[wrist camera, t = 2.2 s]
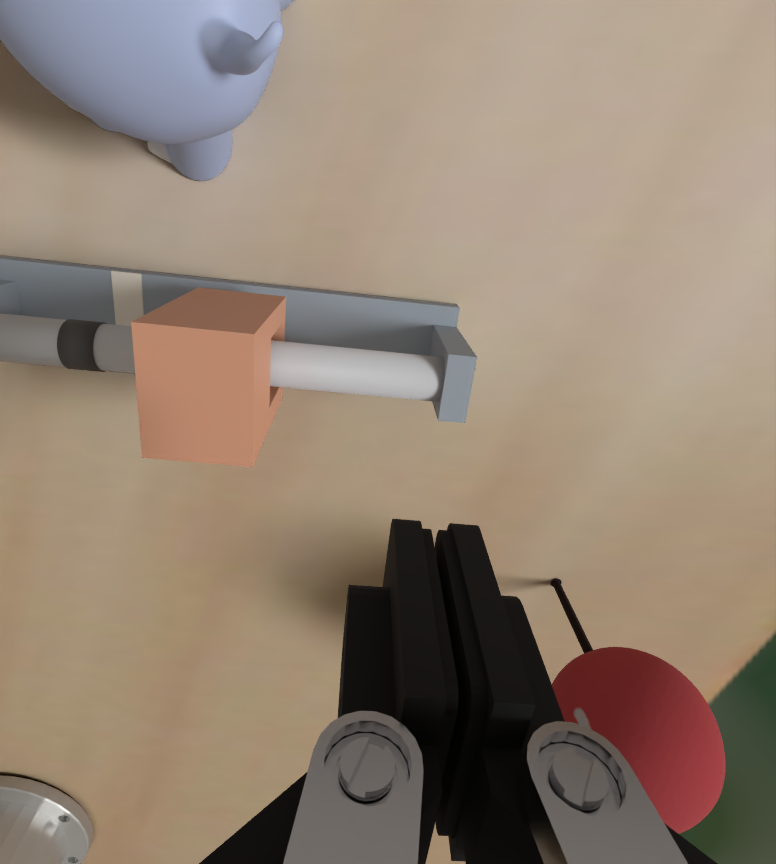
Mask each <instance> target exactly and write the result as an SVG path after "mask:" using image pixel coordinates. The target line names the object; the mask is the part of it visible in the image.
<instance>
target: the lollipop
mask: <svg viewBox="0 0 776 864" xmlns="http://www.w3.org/2000/svg"><path fill="white" fill-rule="evenodd" d="M551 585H552V586H553V587H554V588H555V590H556V593H557V595H558V597H559V599H560V602H561V604H562V606H563V608H564V610H565V613H566V615H567V617H568V619H569V621H570V624H571V626H572V628H573V630H574V632H575V634H576V637H577V639H578V641H579V643H580V645H581V647H582V650H583V652H584V654H582V655H580V656H578V657H577V658H575V659H574V660H572V661H571V662H570V663H568V664H567V665H566V666H565V667H564V668H563V669H562V670H561V671H560V672H559V674H558V675H557V677H556V678H555V680H554V682H553V683H552V687H553V690H554V693H555V696H556V698H557V701H558V704H559V707H560V709H561V712H562V715H563V718H564V720H565V722H573V723H576V724H579V725H582V726H585V727H588V728H590V729H591V730H593V731H595V732H597V733H598V734H600V735H602V736H603V737H605V738H606V739H607V740H608V741H609V742H610V743H611V744H612V745H614V746H615V747H616V748H617V749H618V750H619V751H620V753H621V754H622V755H623V757H624V758H625V759H626V761H627V762H628V763H629V765H630V766H631V768H632V770H633V771H634V773H635V775H636V777H637V778H638V780H639V782H640V783H641V785H642V787H643V788H644V790H645V792H646V793H647V795H648V797H649V798H650V800H651V802H652V804H653V805H654V807H655V809H656V810H657V812H658V814H659V815H660V817H661V819H662V820H663V822H664V823H665V824H666V825H667V826H669V827H670V828H671V829H673V830H674V831H675V832H677V833H678V834H679V833H682V832H684V831H686V830H688V829H690V828H692V827H693V826H695V825H696V824H698V823H699V822H700V821H701V820H703V819H704V817H706V816H707V815H708V813H709V812H710V811H711V810H712V808H713V807H714V806H715V804H716V802H717V800H718V798H719V796H720V793H721V791H722V787H723V783H724V776H725V754H724V747H723V742H722V738H721V734H720V731H719V727H718V725H717V722H716V720H715V717H714V715H713V713H712V711H711V709H710V708H709V705H708V704H707V702H706V701H705V699H704V697H703V696H702V695H701V693H700V692H699V691H698V689H697V688H696V687H695V686H694V685H693V684H692V682H691V681H690V680H689V679H688V678H687V677H686V676H684V675H683V674H682V673H681V672H680V671H678V670H677V669H676V668H675V667H673V666H672V665H670V664H669V663H667V662H666V661H664V660H662V659H660V658H658V657H656V656H654V655H651V654H649V653H646V652H643V651H639V650H636V649H631V648H623V647H607V648H601V649H596V650H593V649H592V647H591V645H590V643H589V641H588V639H587V637H586V635H585V633H584V631H583V629H582V627H581V625H580V623H579V621H578V618H577V616H576V614H575V612H574V610H573V608H572V606H571V604H570V602H569V600H568V598H567V596H566V594H565V592H564V590H563V588H562V586H561V580H559V579H554V580H552V582H551Z"/></svg>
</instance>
